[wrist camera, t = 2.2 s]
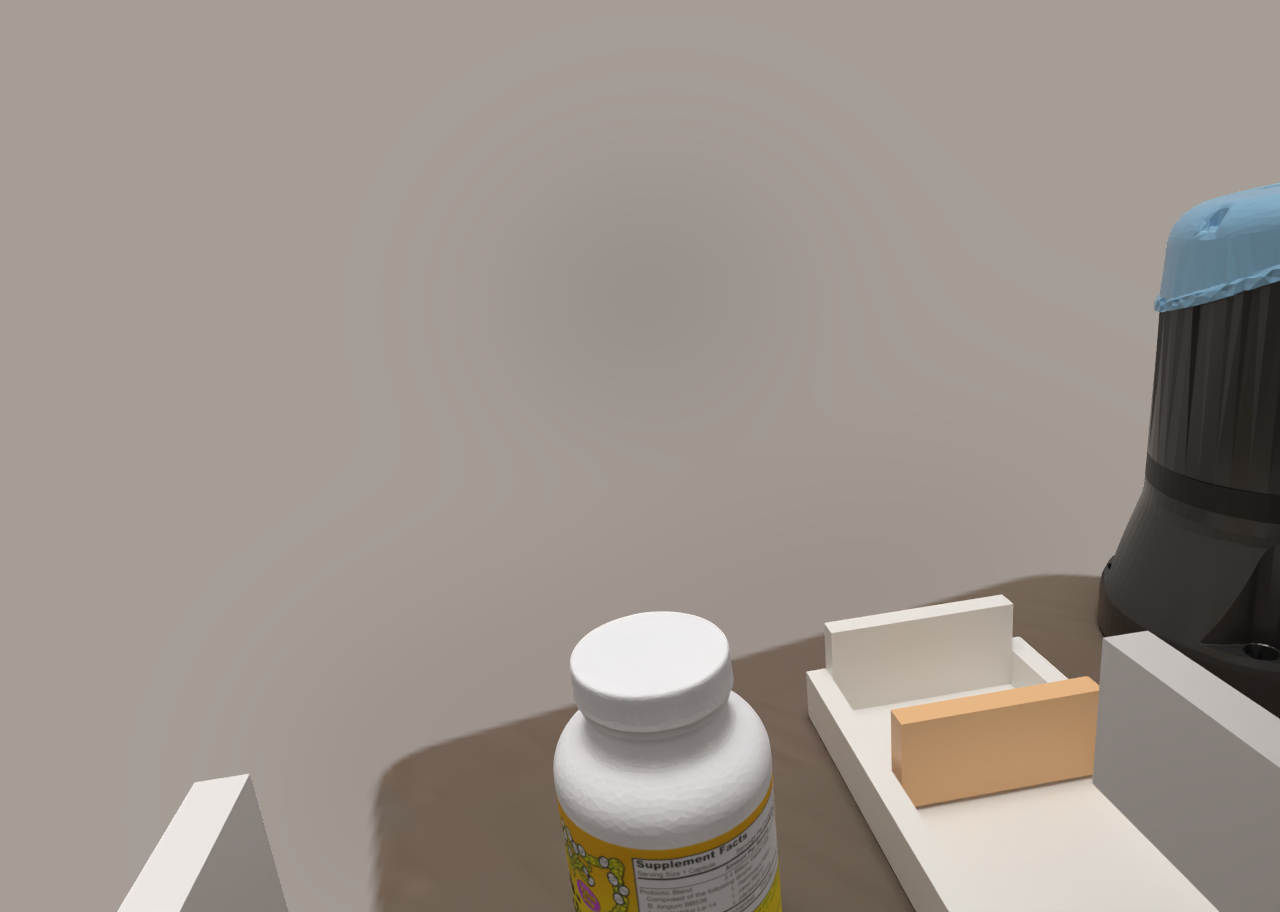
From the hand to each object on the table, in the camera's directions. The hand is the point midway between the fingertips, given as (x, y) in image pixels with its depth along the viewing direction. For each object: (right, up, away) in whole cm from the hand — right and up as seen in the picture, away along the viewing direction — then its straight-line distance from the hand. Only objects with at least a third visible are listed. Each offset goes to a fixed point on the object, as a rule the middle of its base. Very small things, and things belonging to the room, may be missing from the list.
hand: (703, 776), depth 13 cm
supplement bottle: (+1, -13, +15) cm, 20 cm away
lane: (+14, -10, +20) cm, 26 cm away
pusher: (+14, -9, +21) cm, 27 cm away
